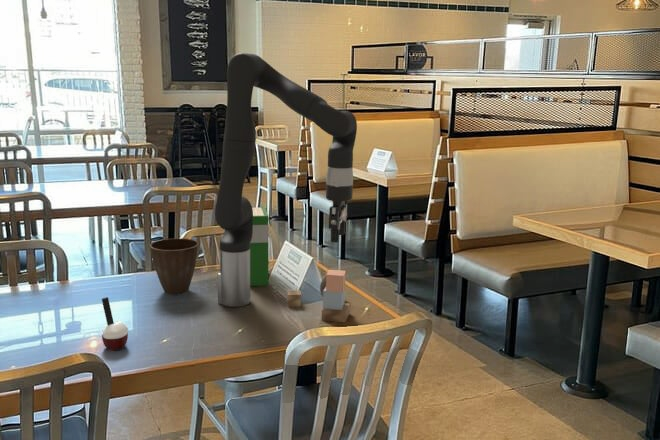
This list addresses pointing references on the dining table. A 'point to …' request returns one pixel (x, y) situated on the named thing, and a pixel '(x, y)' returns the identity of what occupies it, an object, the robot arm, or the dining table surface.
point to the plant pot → (174, 263)
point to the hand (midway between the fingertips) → (337, 238)
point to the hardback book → (259, 248)
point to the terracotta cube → (335, 280)
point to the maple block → (294, 298)
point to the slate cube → (333, 300)
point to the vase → (322, 286)
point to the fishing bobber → (113, 330)
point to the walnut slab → (336, 314)
